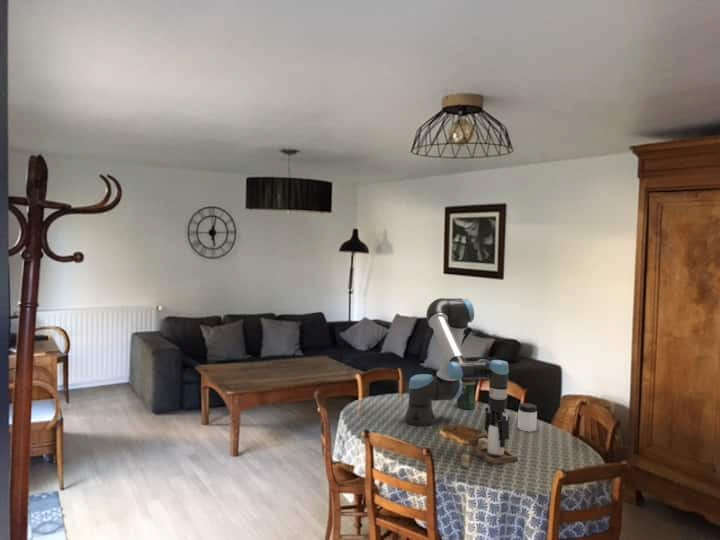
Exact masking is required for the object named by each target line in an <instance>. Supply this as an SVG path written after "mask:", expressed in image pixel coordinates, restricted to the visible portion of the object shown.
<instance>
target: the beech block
mask: <svg viewBox="0 0 720 540" xmlns="http://www.w3.org/2000/svg"><path fill="white" fill-rule="evenodd" d="M477 441H478V443H477V444H478V445H477V449H479V448H487V444H488V440H487V437H482V438H479V439H478V440H477Z"/></svg>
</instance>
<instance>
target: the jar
mask: <svg viewBox="0 0 720 540" xmlns="http://www.w3.org/2000/svg"><path fill="white" fill-rule="evenodd" d="M537 410H538V409H537V405H536V404H534V403H529V402H528V403H527V402H521V403H519V407H518V410H517V411H518V413H517V429H519V430H520V431H521V430H522V432H527V431H528V432H529V433H531V431H532V432H535V431H537V424H538V423H537V418H538V411H537Z"/></svg>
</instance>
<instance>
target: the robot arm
mask: <svg viewBox="0 0 720 540" xmlns="http://www.w3.org/2000/svg"><path fill="white" fill-rule="evenodd" d="M474 308H475V307H474V306H473V303H472V302H471V301H470V300H469V299H468V298H459V297H458V298H444V297H443V298H442V297H441V298H437V299H434V300H433V301H432V302H431V303H430V304H429V306H428V307H427V310H426V321H427V323H428V326H429V327H430V328H432V330H433V332H434V334H435V337H436V338H437V341H438V343H439V345H440V349H441V350H442V354H441V362H440V368H439V370H438V371H437V372H436V376H435V377H434V376H433V375H432V374H429V373H426V374H424V373H420V374H415V375H413V376H411V377H410V379H409V384H408V406H407V408H406V411H405V414H404V423H406V424H409V425H412V426H417V427H428V426H432V425H434V424H435V422H436V421H435V420H436V419H435V415H434V414H435V413H434V411H433V406H432V405H433V402H437V401H438V402H439V401H441V402H442V401H454V400H457V399H458V398H459V397H460V395H461V393H462V381H461V379H475V380H478V379H486V380H488V382H489V383H488V385H489V386H488V387H489V391H488V406H489V407H485V409H484V410H485V418H484V428H483V429H484V431H485V430H486V431H487V433H488V430H489V426H490V423H491V424H495V423H497V425H498V432H499V439H498V451H497V455H504V449H505V445H506V440H509V439H510V428H509V426H510V424H509V422H510V418H511V417H510V415H507V414H506V411H505V409H507V406H508V399H507V398H508V390H509V389H508V386H509V371H510V370H509V362H508V361H505V360H502V359H493V360H487V359H484V358H483V359H478V360H477V361H476V360H475V361H469V360H468V361H467V360H466V358H465V357H464V354H463V352H462V344H463V343H462V342H463V339H464V332H465V330H466V329H467V328H468V325H469V323H472V322H473V321H474V319H475V309H474ZM486 439H487V440H488V435H487V436H486ZM487 449H488V444H487Z"/></svg>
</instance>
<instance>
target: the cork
mask: <svg viewBox="0 0 720 540" xmlns="http://www.w3.org/2000/svg"><path fill="white" fill-rule="evenodd" d="M460 467H462V468H463V469H464V468H465V469H468V468H470V454H467V453H462V454H461V462H460Z"/></svg>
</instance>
